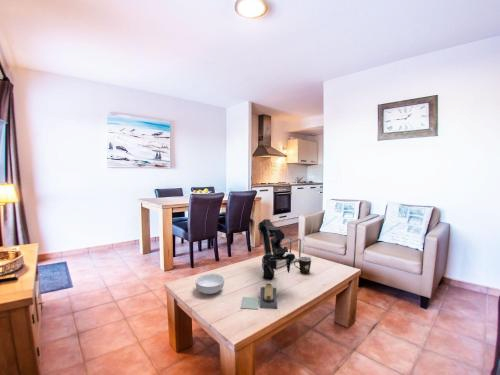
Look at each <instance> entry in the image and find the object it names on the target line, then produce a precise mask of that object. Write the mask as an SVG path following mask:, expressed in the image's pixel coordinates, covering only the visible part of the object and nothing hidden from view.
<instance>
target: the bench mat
mask: <svg viewBox="0 0 500 375" xmlns="http://www.w3.org/2000/svg"><path fill="white" fill-rule="evenodd" d="M259 301H260V297H253V296H252V297H250V296H242V299H241V303H240V309H241V310H242V309H243V310H244V309H245V310H246V309H247V310H258V309H259Z"/></svg>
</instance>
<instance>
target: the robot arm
mask: <svg viewBox="0 0 500 375" xmlns="http://www.w3.org/2000/svg"><path fill="white" fill-rule="evenodd" d="M257 230H258V233H259V235H261V237H262V244H263V250H264V251H263V252H264V255H263V256H262V258H261V269H262V270H263V276H262V279H266V280H273V279H274V278H275V270H277V269H276V265H277V264H278V262H276V260H282V261H286V262H285V264H286V271H287V273H288V274H289V273H290V269H291V265H292V263H291V262H292V261H295V260H296V256H295V254H294V253H292V254H288V253H289V248H288V247H289V246H283V245H282V246H283V248H282V246H281V243H282V242H283V241H284V240H283V239H284V238H285V237H286V235H285V234H284V232H283V231H281V229H280V227H278V226H275V225H274V224H273V223H272V222H271V219H268V218H265V219H262V221H260V222H259V223H258V225H257ZM270 242H271V244H270ZM287 252H288V253H287ZM286 253H287V256H283V255H285V254H286ZM277 266H278V265H277Z"/></svg>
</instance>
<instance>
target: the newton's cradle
mask: <svg viewBox="0 0 500 375" xmlns="http://www.w3.org/2000/svg"><path fill="white" fill-rule="evenodd" d="M283 241H284V242H283ZM298 241H299V242H298ZM295 242H298V243H299V244H298V246H299V247H298V250H299V251H298V259H297V258H295V259H294V260H293V261H292V262H291V264H294V262H295V261H299V257H301V252H302V251H301V250H302V249H301V248H302V247H301V246H302V240H301V238H296V237H292V236H290V235H289V236H284V239H283V240H282V242H281V246H282V248H284V247H288V252H285V254H284V255H283V256H287V254H293V253H292V248H293V246H292V244H293V243H295ZM270 245H271V241H270ZM284 245H285V246H284ZM287 245H289V246H287ZM282 261H283V260H276V262H277V263H279V262H282ZM283 267H287V265H286V263H285V264H283V265H280V266H278V265H276V269H275V270H279V269H281V268H283Z"/></svg>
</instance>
